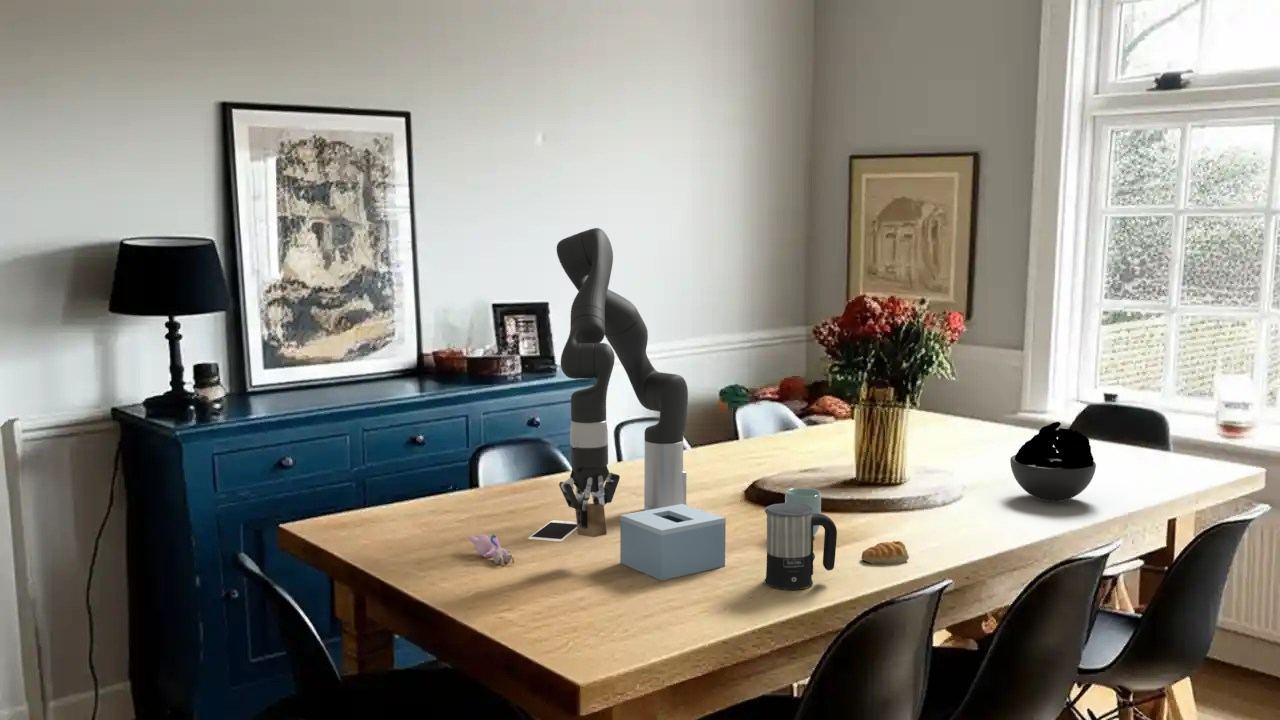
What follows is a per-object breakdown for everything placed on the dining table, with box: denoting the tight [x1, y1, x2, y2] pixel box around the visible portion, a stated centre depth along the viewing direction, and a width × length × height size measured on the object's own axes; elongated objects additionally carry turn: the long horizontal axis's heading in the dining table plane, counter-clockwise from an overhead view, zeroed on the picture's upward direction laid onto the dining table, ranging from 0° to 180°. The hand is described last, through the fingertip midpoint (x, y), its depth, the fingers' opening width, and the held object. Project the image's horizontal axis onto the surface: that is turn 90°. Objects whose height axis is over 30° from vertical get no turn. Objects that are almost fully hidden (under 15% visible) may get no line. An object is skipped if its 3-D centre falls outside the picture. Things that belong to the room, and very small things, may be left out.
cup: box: [784, 487, 822, 537], centre depth 258 cm, size 8×8×10 cm
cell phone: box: [527, 519, 577, 543], centre depth 262 cm, size 8×16×1 cm, turn 164°
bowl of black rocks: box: [1009, 421, 1097, 502], centre depth 290 cm, size 20×20×19 cm
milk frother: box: [764, 502, 838, 591], centre depth 229 cm, size 14×16×15 cm
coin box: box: [619, 504, 727, 581], centre depth 237 cm, size 16×14×10 cm
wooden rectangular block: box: [574, 502, 607, 538], centre depth 236 cm, size 3×6×6 cm, turn 36°
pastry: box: [860, 540, 910, 565], centre depth 241 cm, size 9×7×4 cm
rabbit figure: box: [467, 533, 516, 568], centre depth 242 cm, size 6×6×15 cm
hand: (590, 525), depth 236 cm, fingers closed on wooden rectangular block, 2 cm apart
